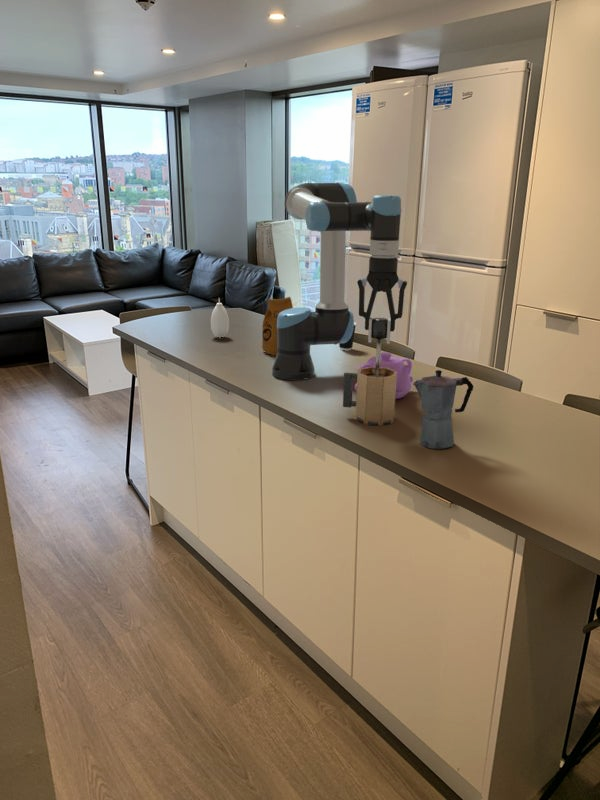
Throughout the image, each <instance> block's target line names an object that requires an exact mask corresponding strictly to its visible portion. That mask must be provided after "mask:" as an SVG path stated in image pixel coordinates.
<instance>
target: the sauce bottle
mask: <svg viewBox="0 0 600 800" xmlns="http://www.w3.org/2000/svg"><path fill="white" fill-rule="evenodd" d="M220 301H221V300H220V298H218V302H217V303H216V305H215V307H214V308H213V310H212V313H211V317H210V329H211V332H212V334H213V335H214V336H215V337H216V336H217V337H216V338H218V337H223V338H224V337H225V336H227V334H228V332H229V330H230V329H229V328H230V320H229V315H228V312H227V309H226V308H225V307H224V305H223V303H222V302H220Z"/></svg>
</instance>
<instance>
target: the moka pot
mask: <svg viewBox="0 0 600 800" xmlns="http://www.w3.org/2000/svg"><path fill="white" fill-rule="evenodd" d="M442 372H443V371H442V370H441V369H438V370H435V375H431V376H426V377H425V376H424V377H422V378H421V379H418V380H415V382H413V383H412V386H414V387H415V390H416V392H417V393H418V396H419V398H420V401H421V409H422V410H423V411H422V412H423V416H422V417H421V421H422V425H421V433H420V439H419V443H420V444H421V446H423V447H425V448H427V449H434V450H441V449H443V450H444V449H448V448H450V447H453V446H454V444H455V441H454V440H455V439H454V429H453V419H452V415H453V407H454V401H455V395H456V390H457V387H459V386H463V385H467V387H468V388H466V389H467V390H466V393H465V396H464V398H463V402H462V405H461V406H460V407H459V408H455V409H454V413H463V412H465V409H466V407H467V404H468V403H469V400H470V397H471V394H472V392H473V390H474V385H473V383H472V382H471V381H470V380H469V378H468V377H467V376H464V377H461V378H460V377H453V378H452V377H450V376H447V375H446V376H444V375H443V376H442Z"/></svg>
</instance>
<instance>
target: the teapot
mask: <svg viewBox="0 0 600 800" xmlns="http://www.w3.org/2000/svg"><path fill="white" fill-rule="evenodd" d="M404 362H406V364H405V363H404ZM367 367H376V355H375V356H372V357H370V358H369V359H368V360H367V361H366V362H365V363H362V364H360V366H358V368H357V372H358V371H359V369H361V368H367ZM380 367H384V368H389V369H392V370H395V371H397V381H396V396H395V400H398V399H402V398H404V397H405V396H406V395H407V394H408V393H409V392H410V391H411V389H412V382H413V380H414V378H413V376H412V375H410V374H411V371H412V368H413V363H412V361H411V360H410V358H407V357H400V358H399V357H396V356H392V353H391V352H387V351H385V352H384V351H383V352H381V355H380ZM354 390H355V391H356V392H357V382H356V383H355V385H354Z"/></svg>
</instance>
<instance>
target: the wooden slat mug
mask: <svg viewBox="0 0 600 800" xmlns="http://www.w3.org/2000/svg"><path fill="white" fill-rule="evenodd" d="M375 368H376V367H367V368H361V369H359V371H358V370H357V372H356V373H355V372H344V373H343V390H342V391H343V394H342V396H343V397H342V408H350V409H351V408H353V407H354V408H355V421H357V422H359V423H361V424H364V425H368V426H378V427H380V426H385V425H386V426H387V425H390V424H393V423H394V422H395V410H396V409H395V408H396V399H395V396H396V381H397V371H395V370H392V369H389V368H384V367H380V373H379V375H383V376H387V377H369V376H368V375H375ZM354 380H356V383H357V391H356V398H355V399H356V400H353V386H354V385H353V384H354V382H353V381H354Z"/></svg>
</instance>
